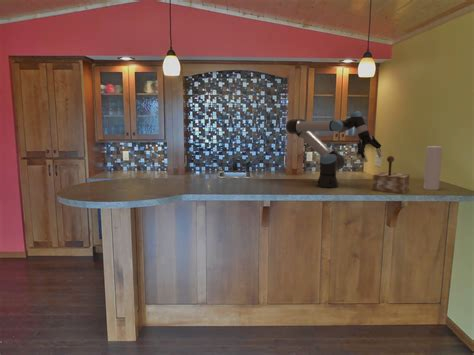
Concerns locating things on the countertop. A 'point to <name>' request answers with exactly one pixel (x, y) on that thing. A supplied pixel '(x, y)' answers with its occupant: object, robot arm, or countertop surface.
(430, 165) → the cylinder container
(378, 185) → the brown wooden box
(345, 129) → the robot arm
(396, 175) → the wooden lid with knob
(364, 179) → the countertop surface
